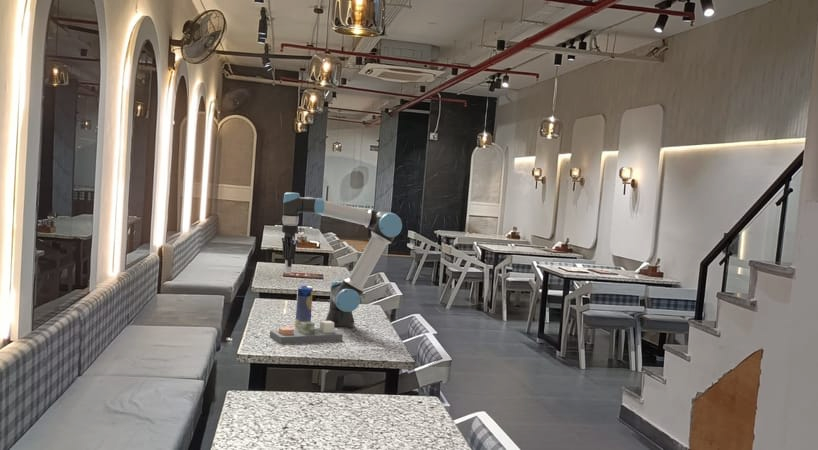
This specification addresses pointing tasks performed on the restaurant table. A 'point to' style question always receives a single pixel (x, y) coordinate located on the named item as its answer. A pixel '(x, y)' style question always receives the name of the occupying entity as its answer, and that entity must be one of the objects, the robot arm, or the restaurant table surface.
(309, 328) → the sage block
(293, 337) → the gray slotted block tray
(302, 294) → the beverage box
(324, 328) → the off-white block
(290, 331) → the terracotta block
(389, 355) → the restaurant table surface
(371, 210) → the robot arm
